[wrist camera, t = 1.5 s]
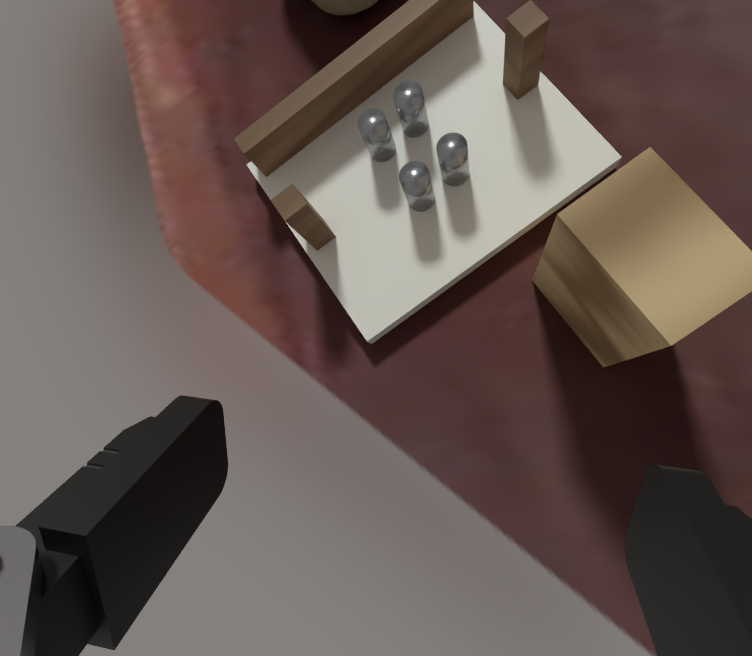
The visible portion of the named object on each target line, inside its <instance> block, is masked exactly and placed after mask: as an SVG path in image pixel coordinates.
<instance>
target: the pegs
mask: <svg viewBox="0 0 752 656" xmlns="http://www.w3.org/2000/svg"><path fill="white" fill-rule="evenodd" d="M393 99H394V103H395V106H396V109H397V113H398V116H399V119H400V123H401V126H402V129H403V132H404V133H405V134H406V135H407V136H409V137H419V136H421V135H423V134H424V133H425V132H426V131H427V129H428V126H429V121H428V116H427V111H426V106H425V100H424V95H423V90H422V87H421V86H420V84H419V83H417V82H415V81H404V82H402V83H400V84H399V85H398V86H397V87H396V88H395V90H394V93H393ZM357 125H358V129H359V131H360V133H361V136H362V138H363V140H364V142H365V144H366V146H367V149H368V151H369V153H370V155H371V157H372V158H373V159H374V160H375V161H377V162H386V161H388V160H390V159H391V158H392V157H393V156H394V154H395V152H396V145H395V142H394V139H393V136H392V133H391V131H390V128H389V125H388V122H387V119H386V116H385V114H384V113H383V112H382V111H381V110H379V109H376V108H372V109H368V110H366V111H364V112H363V113H362V114H361V115H360V117H359V119H358V122H357ZM436 151H437V156H438V161H439V166H440V172H441V177H442V180H443V181H444V183H446V184H447V185H449V186H459V185H462V184H463V183H465V182H466V180H467V179H468V177H469V159H468V145H467V141H466V139H465V137H464V136H463V135H461V134H459V133H448V134H445V135H444V136H442V137H441V138H440V139H439V141H438V143H437V146H436ZM399 181H400V184H401V186H402V189H403V191H404V194H405V197H406V199H407V202H408V204H409V206H410V208H411V209H413V210H414V211H417V212H423V211H426V210H428V209H430V208H431V207H432V205H433V204H434V201H435V194H434V190H433V186H432V181H431V177H430V173H429V169H428V167H427V166H426V165H425V164H424V163H422V162H420V161H411V162H409V163H407V164H405V165H404V166H403V167H402V168H401V170H400V173H399Z"/></svg>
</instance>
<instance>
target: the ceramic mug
mask: <svg viewBox="0 0 752 656" xmlns="http://www.w3.org/2000/svg"><path fill="white" fill-rule="evenodd" d="M312 1H313V2H314V3H315V4H316V5H317V6H318V7H319V8H320V9H322V10H324V11H325V12H328V13H330V14H333V15H342V16H343V15H352V14H356V13H358V12H361V11H363V10H366V9H368V8H369V7H371V6H372V5H374V4H375V3H376V2H378V1H379V0H312Z"/></svg>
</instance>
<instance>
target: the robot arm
mask: <svg viewBox="0 0 752 656" xmlns="http://www.w3.org/2000/svg"><path fill="white" fill-rule="evenodd" d="M227 471H228V458H227V448H226V436H225V426H224V415H223V408H222V405H221V403H220V402H219V401H217V400H210V399H202V398H196V397H188V396H179V397H177V398H176V399H175V400H174V401H172V402H171V403H170V404H169V405H168V406H167V407H166V408H165V409H164V410H163V411H162V412H161V413H160V414H159V415H157V416H156V417H148V418H147V419H144V420H142V421H141V422H139V423H137V424H135V425H133V426H131V427H129V428H127V429H125V430H123V431H122V432H121V433H120V434H119V435H118V436H117V437H115V438H114V439H113V440H112V441H111V442H110V443H109V444H107V445H106V446H105V447H104V451H103V452H102V451H100V452H99V453H97V454H96V455H95V456H94V457H93V458H92V459H91V460H89V461H88V462H87V466H86V467H84V466H83V467H82V468H80V469H79V470H78V471H77V472H76V473H75V474H74V475H72V476H71V477H70V478H69V479H68V480H67V481H66V482H65V483H63V484H62V485H61V486H60V487H59V488H58V489H57V490H56V491H55V492H53V493H52V494H51V495H50V496H49V497H48V498H46V500H44V501H43V502H42V503H41V504H40V505H39V506H37V507H36V508H35V509H34V510H33V511H32V512H31V513H30V514H29V515H27V516H26V517H25V518H24V519H23V520H22V521H21V522H19V523H18V524H17V525H16V526H0V656H79V654H80V653H81V652H82V650H83V649H84V647H85V646H86V645H87V644H91V645H94V646H99V647H103V648H107V649H112V650H115V648H116V647H117V646H118V644H119V643H120V641H121V640H122V638H123V637H124V635H125V634H126V632H127V631H128V629H129V628H130V626H131V625H132V623H133V622H134V621H135V619H136V618H137V616H138V614H139V613H140V611H141V610H142V609H143V607H144V606H145V604H146V603H147V601H148V600H149V598H150V597H151V596H152V594H153V593H154V591H155V590H156V588H157V587H158V585H159V583H160V582H161V581H162V579H163V578H164V576H165V575H166V573H167V572H168V571H169V569H170V568H171V566H172V565H173V563H174V562H175V560H176V559H177V557H178V556H179V554H180V553H181V551H182V550H183V548H184V547H185V545H186V544H187V542H188V541H189V540H190V538H191V537H192V535H193V534H194V532H195V531H196V529H197V528H198V526H199V525H200V523H201V522H202V520H203V519H204V518H205V516H206V514H207V513H208V512H209V510H210V509H211V507H212V506H213V504H214V503H215V501H216V500H217V498H218V497H219V495H220V494H221V492H222V490H223V487H224V484H225V481H226V477H227ZM625 554H626V562H627V566H628V570H629V573H630V576H631V579H632V582H633V584H634V587H635V590H636V593H637V596H638V599H639V602H640V605H641V608H642V611H643V614H644V617H645V620H646V623H647V626H648V629H649V632H650V635H651V638H652V641H653V644H654V646H655V649H656V652H657V655H658V656H752V519H751V518H750V517H748V516H747V515H746V514H745V513H744V512H743V511H741V510H740V509H739V508H738V507H735V506H729V505H725V503H724V502H723V500H722V499H721V497H720V495H719V494H718V492H717V491H716V489H715V488H714V486H713V485H712V483H711V482H710V480H709V478H708V477H707V476H706V474H704V473H703V472H702V471H698V470H691V469H684V468H677V467H670V466H663V465H656V464H653V465H651V466H649V468H648V469H647V471H646V473H645V476H644V479H643V482H642V485H641V488H640V491H639V494H638V497H637V500H636V503H635V506H634V510H633V513H632V516H631V519H630V522H629V525H628V528H627V532H626V539H625Z"/></svg>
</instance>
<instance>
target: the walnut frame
mask: <svg viewBox="0 0 752 656" xmlns="http://www.w3.org/2000/svg"><path fill="white" fill-rule="evenodd" d="M473 16H474V5H473V0H409V1H408V2H406V3H405V4H404V5H403V6H401V7H400V8H399V9H397V10H396V11H395V12H394V13H392V14H391V15H390V16H389V17H387V18H386V19H385V20H384V21H382V22H381V23H380V24H379V25H377V26H376V27H375V28H373V29H372V30H371V31H370V32H368V33H367V34H366V35H365V36H363V37H362V38H361V39H360V40H358V41H357V42H356V43H355V44H353V45H352V46H351V47H349V48H348V49H347V50H346V51H344V52H343V53H342V54H341V55H339V56H338V57H337V58H336V59H334V60H333V61H332V62H330V63H329V64H328V65H327V66H325V67H324V68H323V69H322V70H320V71H319V72H318V73H317V74H315V75H314V76H313V77H312V78H310V79H309V80H308V81H306V82H305V83H304V84H303V85H301V86H300V87H299V88H298V89H296V90H295V91H294V92H293V93H291V94H290V95H289V96H288V97H286V98H285V99H284V100H282V101H281V102H280V103H279V104H277V105H276V106H275V107H274V108H272V109H271V110H270V111H269V112H267V113H266V114H265V115H263V116H262V117H261V118H260V119H258V120H257V121H256V122H255V123H253V124H252V125H251V126H250V127H248V128H247V129H246V130H245V131H243V132H242V133H241V134H239V135H238V136H237V137H236V138H234V140H235V141H236V143H237V144H238V146H239V147H240V149H241V150H242V152H243V153H244V154H245V155H246V156H247V157H248V158H249V159H250V160H251V162H252V163H253V164H254V165H255V166H256V167H257V168H258V169H259V170H260V171H261V172H262V173H263V174H264V175H265V176H266V177H267V176H269V175H270V174H271V173H273V172H274V171H275V170H276V169H278V168H279V167H280V166H282V165H283V164H284V163H285V162H287V161H288V160H289V159H291V158H292V157H293V156H294V155H296V154H297V153H298V152H300V151H301V150H302V149H303V148H305V147H306V146H307V145H309V144H310V143H311V142H312V141H314V140H315V139H316V138H318V137H319V136H320V135H322V134H323V133H324V132H325V131H327V130H328V129H329V128H331V127H332V126H333V125H334V124H336V123H337V122H338V121H340V120H341V119H342V118H343V117H345V116H346V115H347V114H349V113H350V112H351V111H352V110H354V109H355V108H356V107H358V106H359V105H360V104H361V103H363V102H364V101H365V100H367V99H368V98H369V97H370V96H372V95H373V94H374V93H376V92H377V91H378V90H379V89H381V88H382V87H383V86H385V85H386V84H387V83H388V82H390V81H391V80H392V79H394V78H395V77H396V76H397V75H399V74H400V73H401V72H403V71H404V70H405V69H406V68H408V67H409V66H410V65H412V64H413V63H414V62H415V61H417V60H418V59H419V58H421V57H422V56H423V55H424V54H426V53H427V52H428V51H430V50H431V49H432V48H433V47H435V46H436V45H437V44H439V43H440V42H441V41H443V40H444V39H445V38H446V37H448V36H449V35H450V34H452V33H453V32H454V31H455V30H457V29H458V28H459V27H461V26H462V25H463V24H464V23H466V22H467V21H468V20H470V19H471V18H472V17H473ZM548 22H549V18H548V17H547V16H546V15H545V14H544V13H543V12H542V11H541V10H540V9H539V8H538V7H537V6H536V5H535V4H534V3H533V2H532V1H531V0H530V1H528V2H527V3H526V4H524V5H523V6H522V7H520V8H519V9H518V10H517V11H515V12H514V13H513V14H511V15H510V16H509V17H508V18H506V32H505V50H504V69H503V85H504V86H505V87H506V88H507V89H508V90H509V91H510V92H511V93H512V94H513V96H514V97H515V98H516V99H517V100H519V99H520V98H521V97H523V96H524V95H525V94H527V93H528V92H529V91H531V90H532V89H533V88H535V87H536V86H537V85H538V83H539V77H540V71H541V65H542V59H543V53H544V46H545V40H546V34H547V28H548ZM271 202H272V203H273V205H274V206H275V207H276V209H277V210H278V212H279V213H280V215H281V216H282V218H283V219H284V221H285V222H286V223H288V224H289V225H290V226H291V227H292V228H293V229H294V230H295V231H296V232H297V233H298V234H299V235H301V236H302V237H303V238H304V239H305V240H306V241H307V242H308V243H309V244H310V245H311V246H313V247H314V248H315V249H316V250H317V251H318V250H319V249H321V248H322V247H323V246H325V245H326V244H327V243H329V242H330V241H331V240H333V239H334V238H335V237H336V236H335V235H334V233H333V232H332V230H331V229H330V228H329V226H328V225H327V223H326V222H325V220H324V219H323V218H322V217H321V216H320V215H319V213H318V212H317V211H316V210H315V209H314V208H313V206H312V205H311V204H310V203H309V202H308V201H307V200H306V198H305V197H304V196H303V195H302V194H301V193H300V191H299V190H298V189H297V188H296V187H295V186H294V185H293V183H292V184H291V185H290V186H288V187H287V188H286V189H284V190H283V191H282V192H281V193H279V194H278V195H277V196H275V197H274V198H273V199H271Z"/></svg>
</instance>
